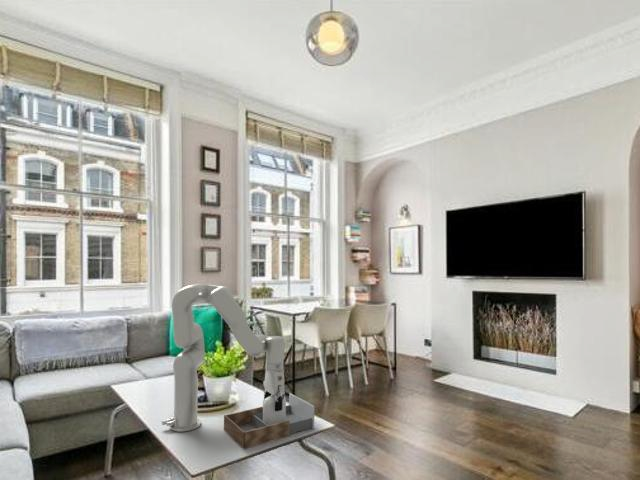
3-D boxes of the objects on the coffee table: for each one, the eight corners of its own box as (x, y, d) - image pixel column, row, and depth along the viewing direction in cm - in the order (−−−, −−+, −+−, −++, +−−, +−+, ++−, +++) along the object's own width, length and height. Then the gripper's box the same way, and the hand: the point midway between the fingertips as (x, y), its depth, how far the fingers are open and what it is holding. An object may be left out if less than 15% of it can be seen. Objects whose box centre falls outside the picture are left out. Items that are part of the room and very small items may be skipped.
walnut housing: (243, 449, 152) (244, 432, 152) (223, 430, 168) (224, 415, 168) (289, 435, 163) (289, 420, 163) (266, 419, 180) (266, 405, 180)
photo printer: (266, 429, 166) (266, 399, 166) (261, 426, 169) (261, 396, 170) (287, 423, 172) (287, 394, 173) (282, 420, 175) (282, 391, 176)
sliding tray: (272, 440, 159) (272, 416, 159) (250, 422, 175) (250, 401, 176) (314, 428, 170) (314, 406, 170) (290, 412, 187) (290, 393, 187)
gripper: (292, 370, 167) (290, 412, 166) (272, 360, 181) (271, 398, 180) (276, 372, 162) (274, 415, 162) (257, 362, 177) (255, 401, 176)
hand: (272, 406), depth 171 cm, fingers open, 9 cm apart
